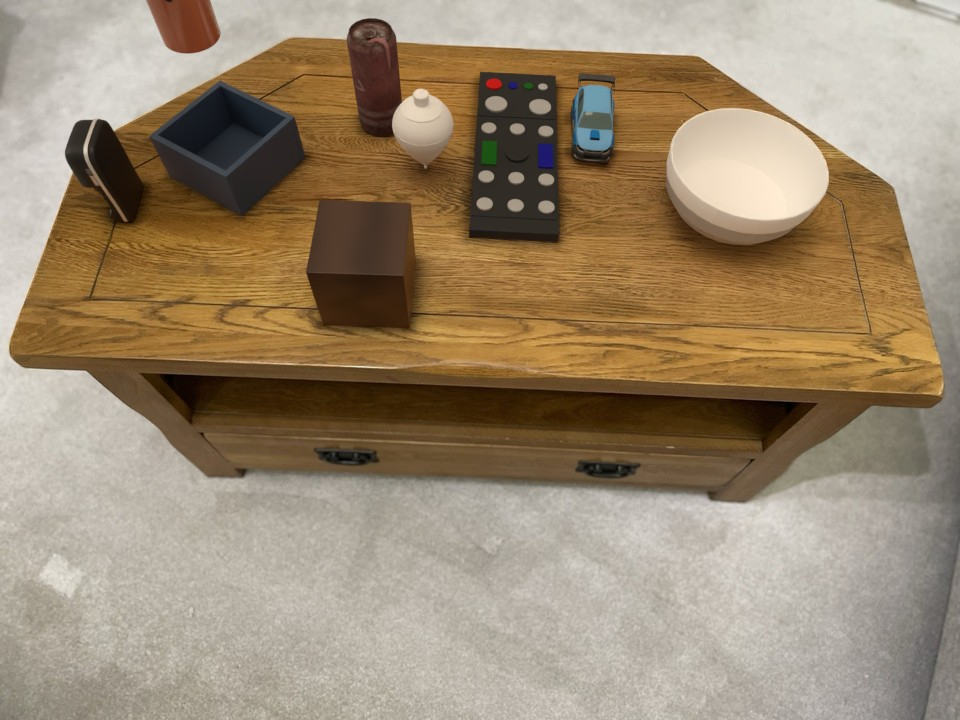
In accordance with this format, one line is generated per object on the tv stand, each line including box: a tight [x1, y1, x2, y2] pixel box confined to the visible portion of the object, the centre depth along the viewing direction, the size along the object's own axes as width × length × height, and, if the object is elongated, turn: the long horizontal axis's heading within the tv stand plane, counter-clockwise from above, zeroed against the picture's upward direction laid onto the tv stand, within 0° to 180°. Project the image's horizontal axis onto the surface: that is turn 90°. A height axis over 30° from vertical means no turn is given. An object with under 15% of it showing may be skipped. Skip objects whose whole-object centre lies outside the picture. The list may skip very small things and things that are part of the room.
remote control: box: [468, 71, 560, 243], centre depth 90 cm, size 11×30×2 cm, turn 177°
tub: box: [148, 80, 306, 217], centre depth 86 cm, size 13×13×7 cm
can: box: [346, 17, 403, 137], centre depth 87 cm, size 6×6×14 cm
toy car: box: [569, 73, 616, 164], centre depth 91 cm, size 6×12×6 cm, turn 175°
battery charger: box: [64, 118, 144, 223], centre depth 80 cm, size 7×4×11 cm, turn 3°
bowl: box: [665, 107, 830, 246], centre depth 83 cm, size 19×19×9 cm
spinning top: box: [392, 88, 454, 170], centre depth 84 cm, size 8×8×12 cm
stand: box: [305, 199, 417, 329], centre depth 75 cm, size 10×10×10 cm
